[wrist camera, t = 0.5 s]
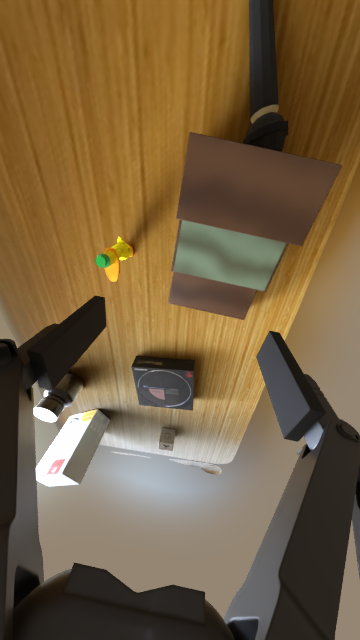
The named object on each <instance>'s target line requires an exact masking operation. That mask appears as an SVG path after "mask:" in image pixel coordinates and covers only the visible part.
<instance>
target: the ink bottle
mask: <svg viewBox="0 0 360 640" xmlns="http://www.w3.org/2000/svg"><path fill="white" fill-rule="evenodd" d="M82 388H83V383H82V381H81V379H80V378H79V377H77V376H76V375H73V374H71V373H67V374H66V375H65V376H64V377H63V379H62V380H61V381H60V382H59V383H58V385H57V386H56V387H55V388H54V389H53V390H50V389H45V391H44V398H42V400H41V401H40V402H39V403H38V404H37V405H36V406H35V408H34V415H36V416H37V417H38V418H40V419H41V420H44V421H47V422H54V421H56V420H57V419H58V417H59V416H60V414H61V413H62V412H63V410H64V408H65V407H68V406H70V405H71V404H72V403H73V402H74V400H75V399H76V397H77V396H78V394H79V393H80V391H81V390H82Z"/></svg>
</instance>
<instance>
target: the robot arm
mask: <svg viewBox="0 0 360 640" xmlns="http://www.w3.org/2000/svg"><path fill="white" fill-rule="evenodd" d="M105 327H106V312H105V297H100V296H94V297H93V298H92V299H90V300H89V301H88V302H87V303H85V304H84V305H83V306H82V307H80V308H79V309H78V310H77V311H75V312H74V313H73V314H72V315H70V316H69V317H68V318H66V319H65V320H64V321H63V322H61V323H60V324H52V325H50V326H47V327H45V328H44V329H43V330H41V331H40V332H39V333H37V334H36V335H35V336H34V337H32V338H31V339H29V340H28V341H27V342H25V343H24V344H23V345H21V346H20V347H19V348H17V347H16V344H15V342H14V341H13V340H11V339H0V640H335V630H336V623H337V617H338V610H339V603H340V596H341V589H342V582H343V575H344V568H345V561H346V554H347V547H348V540H349V533H350V526H351V520H352V522H353V531H354V539H355V546H356V554H357V562H358V570H359V577H360V435H359V433H358V432H357V431H356V430H355V429H354V428H353V427H352V426H351V425H349V424H348V423H347V422H345V421H343V420H340V419H339V418H338V417H337V415H336V414H335V412H334V410H333V409H332V407H331V406H330V404H329V402H328V401H327V399H326V398H325V397H324V394H323V393H322V391H320V388H319V387H318V385H317V383H316V382H315V381H314V380H313V379H312V378H311V377H310V376H309V375H307V374H303V372H302V370H301V369H300V367H299V365H298V363H297V362H296V360H295V358H294V357H293V355H292V353H291V352H290V350H289V349H288V347H287V345H286V343H285V341H284V340H283V338H282V336H281V335H280V333H278V332H273V331H269V333H268V335H267V337H266V339H265V341H264V343H263V345H262V347H261V349H260V351H259V353H258V355H257V360H258V363H259V366H260V369H261V372H262V375H263V378H264V381H265V384H266V387H267V390H268V393H269V396H270V399H271V402H272V404H273V408H274V410H275V413H276V416H277V419H278V422H279V425H280V428H281V431H282V434H283V437H284V439H288V440H293V441H299V440H300V439H301V438H302V437H303V436H304V438H305V440H306V442H307V444H306V445H304V446H303V447H302V448H301V449H300V450H299V451H298V452H297V454H300V456H299V458H298V460H297V463H296V465H295V467H294V470H293V472H292V474H291V476H290V479H289V481H288V484H287V486H286V488H285V490H284V493H283V495H282V497H281V500H280V502H279V504H278V507H277V509H276V511H275V513H274V516H273V518H272V520H271V523H270V525H269V527H268V530H267V532H266V534H265V536H264V539H263V541H262V543H261V546H260V548H259V550H258V553H257V555H256V557H255V560H254V562H253V564H252V567H251V569H250V571H249V573H248V576H247V578H246V580H245V582H244V584H243V585H242V587H241V588H240V590H239V591H238V592H237V594H236V595H235V597H234V598H233V600H232V602H231V604H230V606H229V608H228V611H227V613H226V615H225V617H224V619H223V618H222V617H221V616H220V614H219V613H218V612H217V611H216V609H215V608H214V607H213V606H212V605H211V604H210V603H209V602H207V601H206V600H205V592H203V591H198V590H194V589H189V588H185V587H180V586H176V585H170V586H166V587H161V588H157V589H153V590H148V591H144V592H140V593H136V592H134V591H133V590H131V589H130V588H129V587H127V586H126V585H125V584H124V583H122V582H121V581H120V580H118V579H117V578H116V577H114V576H113V575H112V574H111V573H109V572H108V571H107V570H104V569H99V568H95V567H91V566H86V565H82V564H78V563H74V565H73V567H72V569H70V570H66V571H63V572H61V573H58V574H56V575H55V576H53V577H51V578H49V579H48V580H46V581H45V582H44V574H43V557H42V550H41V546H40V542H39V535H38V511H37V483H36V456H35V429H34V400H33V388H32V385H33V384H34V383H35V382H36V381H38V384H39V387H40V388H45V389H50V390H53V389H54V388H55V387H56V386H57V385H58V383H59V382H60V381H61V380H62V379H63V377H64V376H65V375H66V374H67V373H68V371H69V370H70V369H71V368H72V367H73V365H74V364H75V363H76V362H77V361H78V359H79V358H80V357H81V356H82V355H83V353H84V352H85V351H86V350H87V349H88V347H89V346H90V345H91V344H92V343H93V342H94V340H95V339H96V338H97V337H98V336H99V334H100V333H101V332H102V331H103V330H104V328H105Z"/></svg>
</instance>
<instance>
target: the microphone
mask: <svg viewBox="0 0 360 640" xmlns="http://www.w3.org/2000/svg"><path fill="white" fill-rule="evenodd" d="M249 27H250V120H251V123H252V126H251V127H250V129H249V130H248V132H247V136H246V138H245V139H244V141H243V144H248V145H252V146H257V147H261V148H266V149H271V150H275V151H280V152H282V150H283V146H284V143H285V137H286V136H287V135H288V121H285V120H284V118H283V116H282V115H280V114H278V113H277V112H278V110H279V104H278V86H277V68H276V51H275V33H274V15H273V0H249Z"/></svg>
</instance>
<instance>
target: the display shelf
mask: <svg viewBox="0 0 360 640" xmlns="http://www.w3.org/2000/svg"><path fill="white" fill-rule="evenodd" d="M341 167H342V165H340V164H335V163H330V162H326V161H321V160H317V159H312V158H307V157H303V156H298V155H294V154H289V153H284V152H280V151H275V150H271V149H266V148H261V147H257V146H252V145H248V144H243V143H238V142H234V141H229V140H225V139H220V138H215V137H211V136H206V135H202V134H197V133H192V132H190V133H189V139H188V145H187V152H186V158H185V165H184V171H183V178H182V184H181V191H180V197H179V204H178V211H177V217H176V219H179V226H178V233H177V239H176V245H175V251H174V257H173V263H172V270H171V271H172V272H173V278H172V283H171V289H170V295H169V301H168V303H170V304H175V305H179V306H184V307H188V308H193V309H197V310H202V311H206V312H211V313H215V314H220V315H224V316H229V317H233V318H238V319H242V320H244V319H245V316H246V314H247V312H248V310H249V307H250V305H251V303H252V300H253V298H254V296H255V293H256V291H257V290H258V291H263V292H266V290H267V288H268V286H269V284H270V282H271V280H272V277H273V275H274V273H275V271H276V269H277V267H278V265H279V262H280V260H281V258H282V256H283V254H284V252H285V250H286V247H287V245H288V243H289V244H293V245H298V246H302V244H303V242H304V240H305V238H306V236H307V234H308V232H309V230H310V229H311V227H312V225H313V223H314V221H315V219H316V217H317V215H318V213H319V211H320V209H321V207H322V205H323V203H324V201H325V199H326V197H327V195H328V193H329V191H330V189H331V187H332V185H333V183H334V181H335V179H336V177H337V175H338V173H339V171H340V169H341Z"/></svg>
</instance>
